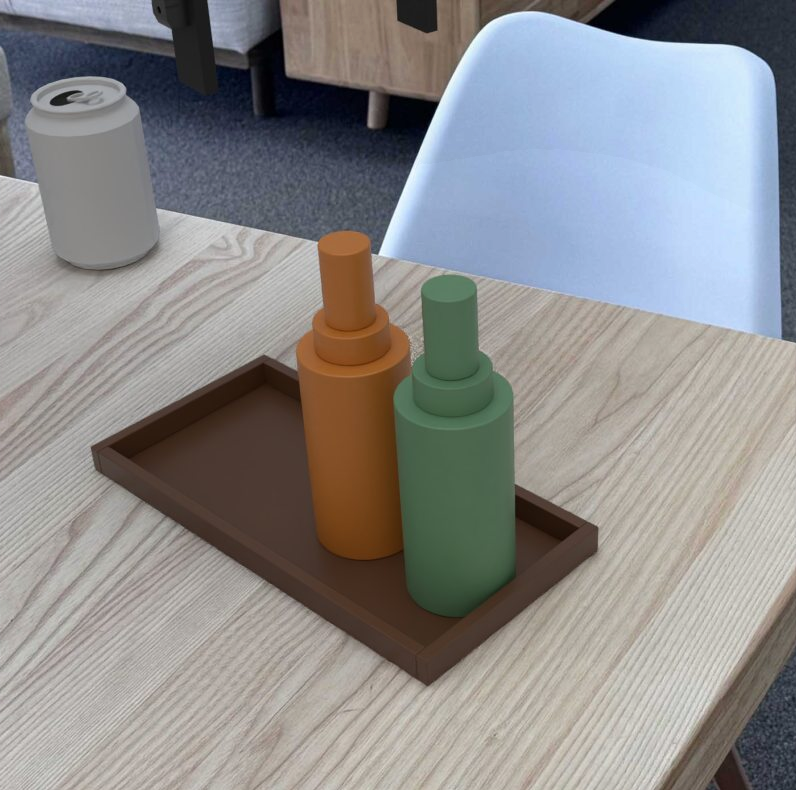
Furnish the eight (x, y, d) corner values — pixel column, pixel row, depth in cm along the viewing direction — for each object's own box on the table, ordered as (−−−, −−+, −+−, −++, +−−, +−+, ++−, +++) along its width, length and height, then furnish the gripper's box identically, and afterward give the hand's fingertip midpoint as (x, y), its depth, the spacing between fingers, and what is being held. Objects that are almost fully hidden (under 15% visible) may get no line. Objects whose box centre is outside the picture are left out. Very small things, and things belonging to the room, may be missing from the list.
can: (91, 220, 104) (60, 65, 97) (181, 234, 102) (155, 76, 95) (33, 267, 98) (-4, 104, 91) (127, 281, 96) (96, 117, 89)
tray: (97, 480, 77) (89, 446, 76) (268, 385, 85) (264, 353, 84) (428, 698, 63) (426, 661, 62) (597, 561, 71) (598, 526, 70)
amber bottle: (294, 530, 72) (258, 245, 63) (369, 482, 76) (346, 205, 66) (367, 575, 69) (341, 283, 60) (442, 522, 73) (428, 238, 63)
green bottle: (383, 585, 69) (359, 291, 59) (458, 531, 72) (446, 245, 63) (464, 634, 66) (452, 333, 57) (538, 576, 69) (538, 283, 60)
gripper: (42, -387, 52) (130, 140, 64) (543, -422, 66) (539, 20, 78) (-37, -401, 57) (59, 92, 69) (445, -430, 70) (456, -13, 82)
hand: (313, 55), depth 73 cm, fingers open, 13 cm apart
